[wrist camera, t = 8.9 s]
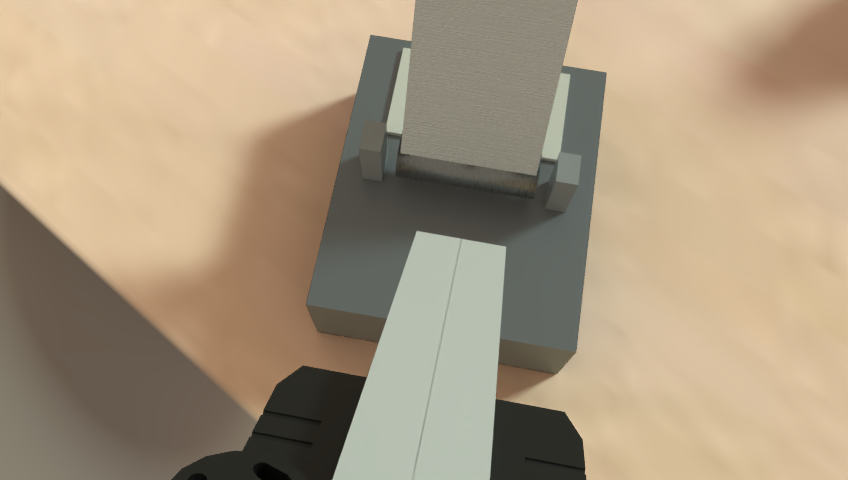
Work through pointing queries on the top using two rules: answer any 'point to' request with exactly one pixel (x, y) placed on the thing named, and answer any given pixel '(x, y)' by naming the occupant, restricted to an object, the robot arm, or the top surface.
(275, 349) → the top surface
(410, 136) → the lever
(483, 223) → the switch box
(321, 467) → the robot arm
